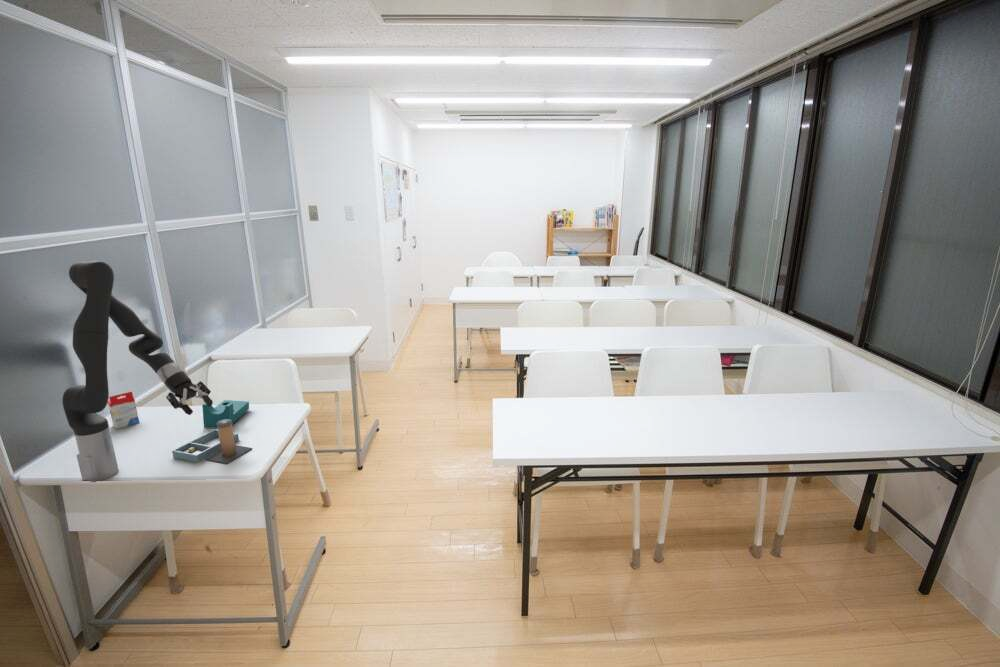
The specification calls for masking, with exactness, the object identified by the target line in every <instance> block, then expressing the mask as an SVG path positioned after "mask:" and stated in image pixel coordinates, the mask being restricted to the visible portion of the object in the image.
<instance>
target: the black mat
mask: <svg viewBox="0 0 1000 667" xmlns="http://www.w3.org/2000/svg"><path fill="white" fill-rule="evenodd" d="M235 447H236V453H235V454H234V455H232V456H228V457H224V456H222V453H221V450H220V451H218V452H217V453H215V454H213V455H211V456H209V457H208V458H206V459H205V461H208V462H213V463H214V462H215V463H218V464H223V465H228V464H230V463H232V462H234V461H235V460H237V459H238V458H240V457H241V456H243V455H245V454H247V453H248V452H250V451H252V450H253V448H252V447H249V446H243V445H238V444H235Z"/></svg>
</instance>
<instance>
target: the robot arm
mask: <svg viewBox="0 0 1000 667" xmlns="http://www.w3.org/2000/svg"><path fill="white" fill-rule="evenodd" d="M68 277H69V279H70V281H71V283H73V284H74V285H75V286H76V287H77V288H78V289H79V290H80V291H82V292H83V293H84V294H85V296H86V298H85V303H84V306H83V307H82V310H81V311H80V313H79V314H78V316H77V318H76V320H75V322H74V324H73V329H72V348H73V350H74V353H75V354H76V356H77V358H78V360H79V361H80V363H81V365H82V366H83V367H82V368H83V370H84V374H85V383H84V384H76V385H72V386H69V387H67V388H66V389H65V391H64V392H63V395H62V401H61V402H62V407H63V410H64V414H65V417H66V420H67V423H68V426H69V427H70V428H71V430H72V431H73V433H74V438H75V441H76V445H77V446H76V447H77V451H78V454H76V460H77V463H78V468H79V472H80V477H81V480H82V481H87V482H91V483H96V482H99V481H102V480H106V479H109V478H111V477H113V476H114V475H116V474H118V472H119V464H118V462H117V456H116V452H115V447H114V444H113V439H112V433H111V430H110V426H109V421H108V419H107V418H106V417H104V416H102V415H100V414H98V413H100V412H102V411H103V410H105V408H106V407H107V406H108V401H109V397H110V395H109V394H110V392H109V391H110V389H109V380H108V378H109V377H108V345H109V320H110V319H111V321H112V322H113V323H114V324H115V326H117V328H118V329H119V331H120V332H121V333H122V334H123V335H124V336H125V337H126V338H127V337H128V338H132V337H136V336H140V335H142V336H140V337H138V338H136V339H134V340H132V341H131V342H130V343H128V351H129V352H130V353H131V355H133V356H135V357H136V358H138V359H140V360H141V361H143V362H144V363H146V364H147V365H148V366H149V367H150V368H151V369H152V371H154V373H155V374H156V375H157V376H158V378H159V379H160V380H161V382H162V383H163V384H164V386H165V387H166V388H167V389H168V390H169V392H168V394H167V395H166V396H165V398H166V399H167V401H168V402H169V403H170V405H171V406H172V407H173V409H175V410H177V409H182V411H183V412H184V413H185V414H186V415H188V416H191V415H192V414H193V413H194V411H193V409H192V408H191V407H190V406H189V404H187V402H186V401H188V400H190V399H192V398H199V399H201V400H203V402H204V403H206V404H207V405H208V406H211V405H212V406H213V400H212V398H210V396H209V395H210V393H211V392H212V391H211V390H210V388H208V386H206V384H204V382H202V381H198V383H196V384H194V383H193V382H192V380H191V378H190V377H189V376H188V375H187V373H186V371H184V370H183V369H182V368H181V367H180V365H178V364H177V363H176V362H175V360H173V358H172V357H171V356H170V355H169V354H168V353H166V352H159V353H155V352H156V351H158V350H160V349H161V348H162V347H163V345H164V341H163V339H162V338H161V336H159V335H158V334H157V333H155V332H153V331H152V330H151V329H149V328H148V327H147V326H146V325H145V323H143V322H142V320H141V319H140V318H139V316H138V315H137V313H135V311H134V310H133V309H132V308H131V307H130V306H128V305H127V304H126V303H125V302H123V301H122V300H120V299H118V298H117V297H116V296H115V295H114V294H113V293H112V292H113V287H114V280H115V274H114V270H113V268H112V266H111V265H110V264H108V263H107V262H105V261H102V260H101V261H100V260H92V261H91V260H90V261H88V260H87V261H78V262H75V263H73V264H72V265H71V266H70V267H69V270H68ZM153 353H155V354H153ZM177 398H178V399H177Z"/></svg>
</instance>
